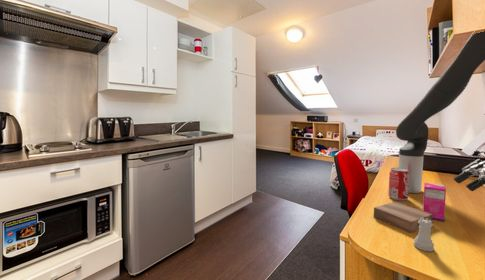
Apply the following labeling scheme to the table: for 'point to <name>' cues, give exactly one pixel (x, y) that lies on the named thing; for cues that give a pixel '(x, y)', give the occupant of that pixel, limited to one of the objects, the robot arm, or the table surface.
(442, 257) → the table surface
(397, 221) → the walnut block
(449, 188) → the table surface
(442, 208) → the supplement box
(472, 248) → the table surface
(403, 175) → the soda can
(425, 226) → the rook chess piece
